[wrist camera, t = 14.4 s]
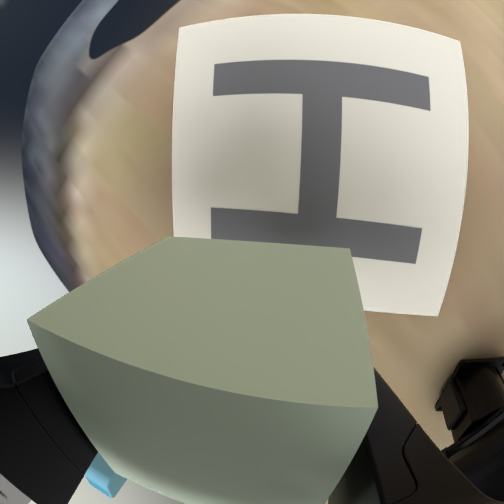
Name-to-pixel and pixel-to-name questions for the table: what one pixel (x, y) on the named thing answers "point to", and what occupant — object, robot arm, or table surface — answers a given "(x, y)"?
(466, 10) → the table surface
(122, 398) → the sage cube
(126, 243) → the table surface
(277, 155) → the board
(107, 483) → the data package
